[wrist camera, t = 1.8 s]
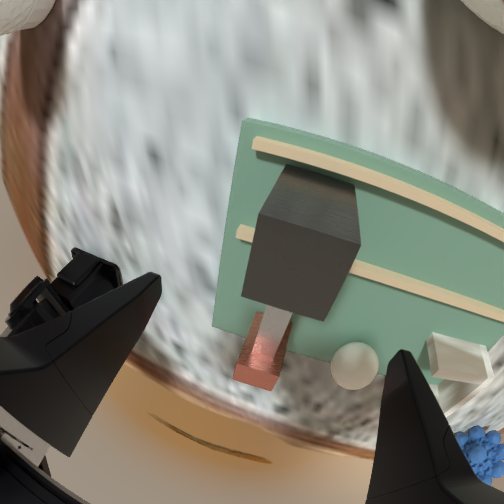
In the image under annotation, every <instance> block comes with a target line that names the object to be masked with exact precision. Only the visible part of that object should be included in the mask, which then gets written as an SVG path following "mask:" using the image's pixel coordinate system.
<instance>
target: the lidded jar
mask: <svg viewBox="0 0 504 504" xmlns="http://www.w3.org/2000/svg"><path fill="white" fill-rule="evenodd" d="M461 1H462V2H463V3H464V4H465V5H466V6H467V7H468V8H469V9H470V10H471V11H472V12H473V13H475V14H476V15H477V16H478V17H479V18H480V19H482V20H483V21H484V22H486V23H487V24H488V25H490V26H491V27H492V28H494V29H496V30H497V31H499V32H500V33H502V34H504V0H461Z"/></svg>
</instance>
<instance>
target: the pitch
mask: <svg viewBox="0 0 504 504" xmlns="http://www.w3.org/2000/svg"><path fill="white" fill-rule="evenodd" d="M286 164H289V165H293V166H296V167H300V168H303V169H306V170H310V171H313V172H316V173H320V174H323V175H326V176H329V177H333V178H336V179H339V180H342V181H345V182H348V183H351V184H354V185H355V192H356V200H357V208H358V217H359V226H360V236H361V247H360V249H359V251H358V254H357V256H356V258H355V260H354V262H353V264H352V266H351V269H350V271H349V273H348V275H347V277H346V279H345V281H344V283H343V285H342V287H341V289H340V291H339V293H338V295H337V297H336V299H335V301H334V303H333V305H332V307H331V309H330V311H329V313H328V315H327V317H326V318H325V320H324V322H322V321H319V320H316V319H312V318H309V317H305V316H302V315H299V314H295V313H292V316H291V318H290V322H292V327H291V331H290V335H289V339H288V343H287V347H286V350H287V351H290V352H294V353H297V354H301V355H304V356H308V357H312V358H315V359H319V360H323V361H327V362H330V363H331V360H332V358H333V356H334V354H335V353H336V351H337V350H338V349H339V348H340V347H342V346H343V345H345V344H347V343H351V342H362V343H365V344H367V345H369V346H370V347H371V348H372V349H373V350H374V351H375V352H376V354H377V357H378V361H379V368H378V372H377V374H381V375H386V371H387V366H388V363H389V361H390V360H391V359H392V358H393V357H394V355H395V354H396V353H397V352H398V351H399V350H400V349H404V350H408V351H410V352H411V353H412V355H413V357H414V358H415V360H416V362H417V364H418V366H419V367H420V369H421V371H422V373H423V375H424V376H425V378H426V380H427V382H428V384H434V385H438V384H439V383H440V382H442V381H443V380H444V379H442V378H436V377H431V369H430V362H429V355H428V348H427V342H426V339H427V338H428V337H429V336H430V334H431V333H432V332H434V333H438V334H441V335H445V336H449V337H453V338H457V339H461V340H464V341H468V342H472V343H476V344H480V345H484V346H486V348H487V352H488V351H489V350H490V349H491V348H492V347H493V346H494V345H495V344H496V343H497V341H498V340H499V339H500V338H501V337H502V336H503V335H504V214H503V213H502V212H500V211H498V210H496V209H495V208H493V207H491V206H489V205H488V204H486V203H484V202H482V201H480V200H478V199H476V198H474V197H473V196H471V195H469V194H467V193H465V192H463V191H461V190H459V189H457V188H455V187H453V186H450V185H448V184H446V183H444V182H442V181H440V180H438V179H435V178H433V177H431V176H429V175H426V174H424V173H422V172H420V171H417V170H415V169H412V168H410V167H408V166H405V165H403V164H400V163H398V162H395V161H393V160H390V159H387V158H385V157H382V156H379V155H377V154H374V153H371V152H368V151H366V150H363V149H360V148H357V147H354V146H351V145H348V144H345V143H342V142H339V141H335V140H332V139H329V138H326V137H322V136H319V135H315V134H312V133H308V132H305V131H301V130H297V129H294V128H290V127H286V126H282V125H278V124H274V123H269V122H265V121H261V120H256V119H252V118H247V119H245V120H243V121H242V125H241V131H240V137H239V143H238V148H237V154H236V161H235V167H234V173H233V179H232V186H231V192H230V198H229V205H228V212H227V218H226V225H225V232H224V239H223V246H222V253H221V260H220V268H219V275H218V283H217V290H216V298H215V306H214V314H213V322H212V326H213V327H215V328H218V329H221V330H224V331H227V332H230V333H233V334H236V335H239V336H242V337H245V338H246V337H247V335H248V332H249V329H250V327H251V324H252V321H253V319H254V316H255V313H256V311H258V312H261V313H264V312H265V309H266V304H263V303H260V302H257V301H253V300H250V299H247V298H244V297H241V293H242V288H243V283H244V279H245V274H246V269H247V265H248V260H249V255H250V251H251V246H252V241H253V237H254V232H255V227H256V223H257V218H258V213H259V212H260V210H261V208H262V206H263V204H264V203H265V201H266V199H267V197H268V195H269V194H270V192H271V190H272V188H273V187H274V185H275V183H276V181H277V179H278V178H279V176H280V174H281V172H282V171H283V169H284V167H285V165H286Z"/></svg>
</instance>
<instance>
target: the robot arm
mask: <svg viewBox="0 0 504 504" xmlns="http://www.w3.org/2000/svg"><path fill="white" fill-rule="evenodd" d="M71 253H72V257H73V260H71V261H70V262H69V263H68V264H67V265H66V266H65V267H64V268H63V269H62V270H61V271H60V272H59V273H58V274H57V278H56V279H55V280H54V281H53V282H52V283H51V284H50V281H49V280H48V278H46V279H45V280H43V279H41V278H40V277H38V276H36V277H35V278H34V279H33V280H32V281H31V282H30V283H29V284H28V285H27V286H26V287H25V288H24V289H23V290H22V292H21V293H20V294H19V295H18V296H17V297H16V298H15V299H14V301H13V302H12V303H11V304H10V313H9V314H8V315H9V316H8V317H7V319H6V321H5V322H6V323H7V325H8V327H7V328H6V329H5V331H4V332H3V333H2V334H1V335H0V504H90V503H88V502H87V501H85V500H83V499H82V498H80V497H79V496H77V495H76V494H74V493H73V492H71V491H70V490H68V489H67V488H65V487H64V486H62V485H61V484H59V483H58V482H57V481H55V480H54V479H52V478H51V474H50V471H49V467H48V464H47V460H46V456H45V453H46V452H47V450H48V449H49V447H50V445H51V446H52V447H54V448H56V449H57V450H58V451H60V452H61V453H63V454H65V455H66V456H68V457H70V456H71V454H72V452H73V451H74V449H75V447H76V445H77V443H78V441H79V439H80V437H81V436H82V434H83V432H84V430H85V428H86V427H87V425H88V423H89V421H90V420H91V418H92V415H93V414H94V412H95V411H96V409H97V407H98V406H99V404H100V402H101V400H102V399H103V397H104V395H105V393H106V392H107V390H108V388H109V386H110V385H111V383H112V382H113V380H114V378H115V377H116V375H117V373H118V371H119V370H120V368H121V367H122V365H123V363H124V362H125V360H126V359H127V357H128V355H129V354H130V352H131V350H132V349H133V347H134V346H135V344H136V342H137V341H138V339H139V338H140V336H141V334H142V333H143V331H144V329H145V327H146V325H147V323H148V321H149V319H150V317H151V315H152V313H153V311H154V309H155V307H156V305H157V303H158V301H159V299H160V297H161V293H162V284H161V276H160V275H159V274H156V273H153V272H148V273H146V274H144V275H142V276H140V277H138V278H136V279H134V280H132V281H130V282H128V283H126V284H124V285H122V286H121V284H120V278H119V272H118V268H117V266H116V265H115V264H113V263H111V262H108V261H106V260H104V259H101V258H99V257H96V256H94V255H92V254H89V253H87V252H85V251H82V250H80V249H78V248H75V247H74V248H73V249H72V250H71ZM36 298H37V299H38V301H39V303H38V302H37V301H36V300H35V299H36ZM365 504H504V492H502V491H500V490H498V489H496V488H494V487H491V486H490V485H488V484H486V483H484V482H482V481H481V480H480V479H479V478H478V477H477V476H476V474H475V473H474V471H473V469H472V467H471V466H470V464H469V462H468V460H467V458H466V456H465V455H464V453H463V451H462V449H461V447H460V445H459V444H458V442H457V440H456V438H455V436H454V434H453V432H452V429H451V427H450V425H449V423H448V421H447V419H446V417H445V415H444V413H443V411H442V409H441V407H440V405H439V403H438V401H437V399H436V397H435V395H434V393H433V391H432V390H431V388H430V386H429V384H428V382H427V380H426V378H425V376H424V375H423V373H422V371H421V369H420V367H419V366H418V364H417V362H416V360H415V358H414V357H413V355H412V353H411V352H410V351H408V350H404V349H400V350H399V351H398V352H397V353H396V354H395V355H394V357H393V358H392V359H391V360H390V361H389V363H388V366H387V371H386V377H385V383H384V389H383V394H382V400H381V408H380V418H379V427H378V435H377V443H376V450H375V456H374V463H373V468H372V474H371V479H370V485H369V490H368V494H367V500H366V503H365Z"/></svg>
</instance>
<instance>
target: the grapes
mask: <svg viewBox="0 0 504 504" xmlns="http://www.w3.org/2000/svg"><path fill="white" fill-rule="evenodd" d="M455 438H456V440H457V442H458V444H459V445H460V447H461V449H462V451H463V453H464V455H465V456H466V458H467V460H468V462H469V464H470V466H471V467H472V469H473V471H474V473H475V474H476V476H477V477H478V478H479V479H480V480H481V481H482V482H484V483H486V484H488V485H491V483H492V477H493V478H499V477H501V476H502V475H503V474H504V463H503V462H502V461H501V460H504V444H499V443H500V441H501V436H500V433H499V432H498V431H496V430H492V431H489V432H488V433H487V434H486V435H485V430H484V429H483V428H482V427H480V426H476V427H473V428H472V429H471V430H470V431H469V434H468V436H467V435H466V434H465V433H458V434H456V435H455Z"/></svg>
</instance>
